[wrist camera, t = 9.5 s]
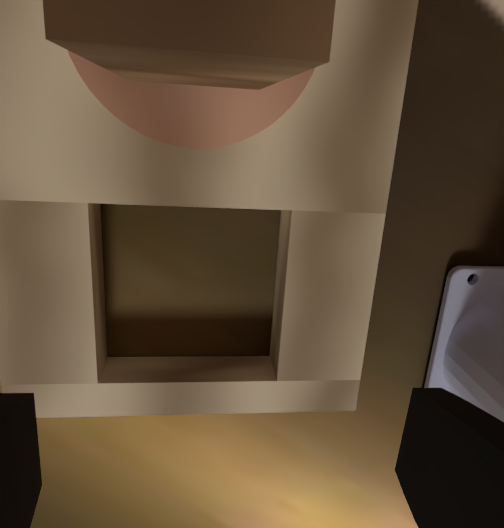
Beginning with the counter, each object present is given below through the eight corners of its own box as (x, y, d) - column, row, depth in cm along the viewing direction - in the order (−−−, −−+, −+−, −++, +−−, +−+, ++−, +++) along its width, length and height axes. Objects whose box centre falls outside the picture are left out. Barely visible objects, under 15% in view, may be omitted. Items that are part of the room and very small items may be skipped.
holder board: (409, -107, 15) (446, -147, 13) (341, 383, 21) (358, 416, 19) (-40, -167, 13) (-88, -224, 11) (24, 388, 19) (1, 425, 17)
